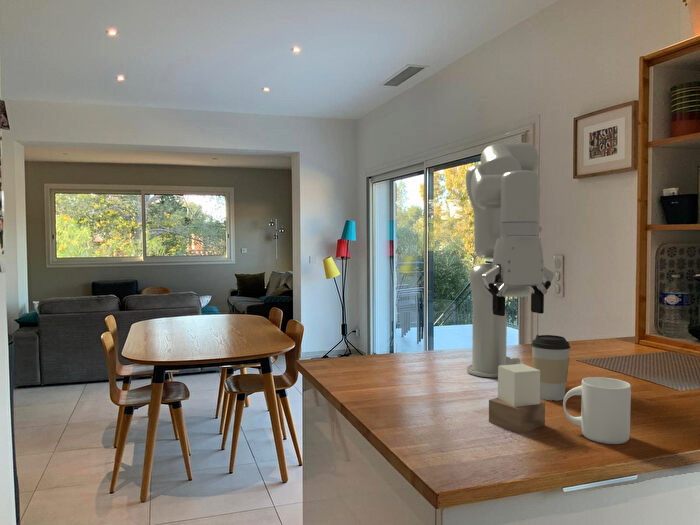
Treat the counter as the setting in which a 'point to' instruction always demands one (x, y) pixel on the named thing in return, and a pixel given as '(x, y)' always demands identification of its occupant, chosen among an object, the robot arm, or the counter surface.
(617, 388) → the mug
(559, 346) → the coffee cup
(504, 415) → the walnut block
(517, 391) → the cream block
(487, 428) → the counter surface
